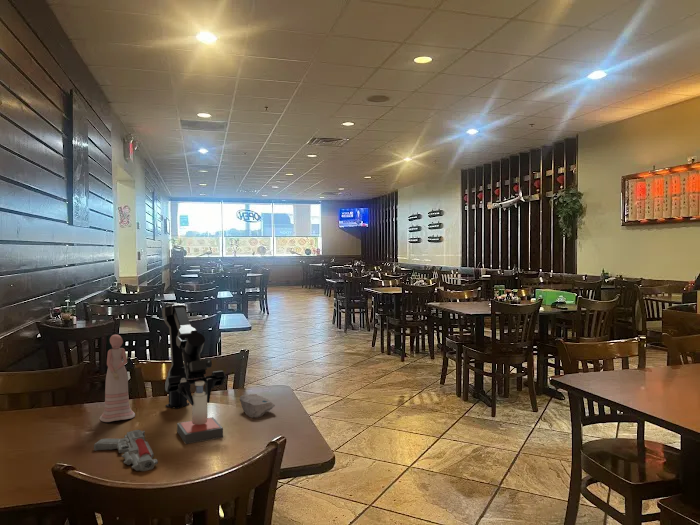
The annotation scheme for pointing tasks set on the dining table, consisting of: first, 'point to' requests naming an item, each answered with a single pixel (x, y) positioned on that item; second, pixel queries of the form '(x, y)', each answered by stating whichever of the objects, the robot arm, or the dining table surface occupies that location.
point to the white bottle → (199, 405)
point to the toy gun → (131, 450)
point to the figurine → (116, 384)
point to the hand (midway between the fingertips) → (200, 403)
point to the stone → (255, 405)
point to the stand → (199, 431)
